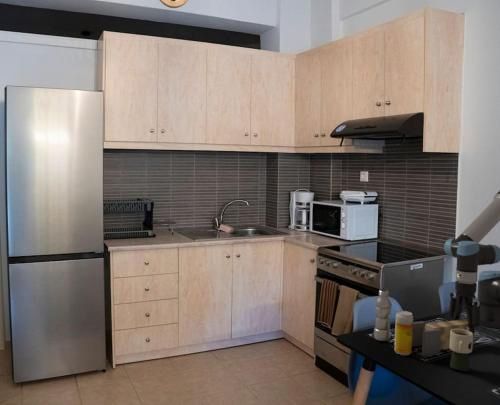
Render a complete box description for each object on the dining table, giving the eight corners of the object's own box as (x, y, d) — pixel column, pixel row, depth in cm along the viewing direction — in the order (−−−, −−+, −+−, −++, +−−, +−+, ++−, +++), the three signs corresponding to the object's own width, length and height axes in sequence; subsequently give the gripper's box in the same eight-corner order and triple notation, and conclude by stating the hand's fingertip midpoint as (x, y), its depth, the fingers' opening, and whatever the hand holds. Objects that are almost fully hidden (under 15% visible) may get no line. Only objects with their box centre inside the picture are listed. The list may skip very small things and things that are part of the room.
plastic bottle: (393, 340, 192) (395, 290, 190) (385, 344, 187) (387, 293, 185) (378, 335, 196) (380, 287, 195) (370, 340, 191) (372, 290, 190)
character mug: (471, 377, 160) (473, 339, 159) (447, 373, 163) (449, 335, 161) (470, 364, 170) (473, 328, 169) (448, 361, 173) (450, 325, 171)
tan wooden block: (465, 341, 193) (466, 319, 192) (473, 345, 188) (475, 322, 188) (424, 347, 186) (425, 324, 185) (432, 351, 181) (433, 328, 181)
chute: (419, 342, 190) (420, 320, 189) (441, 354, 178) (442, 330, 177) (404, 344, 187) (405, 322, 186) (426, 356, 176) (427, 332, 175)
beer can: (412, 356, 176) (414, 316, 175) (395, 355, 177) (397, 315, 176) (410, 350, 182) (411, 311, 181) (393, 348, 183) (395, 310, 182)
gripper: (440, 276, 195) (437, 332, 197) (477, 288, 177) (474, 350, 179) (455, 275, 197) (452, 330, 199) (493, 286, 179) (489, 347, 182)
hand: (462, 339), depth 189 cm, fingers open, 6 cm apart
